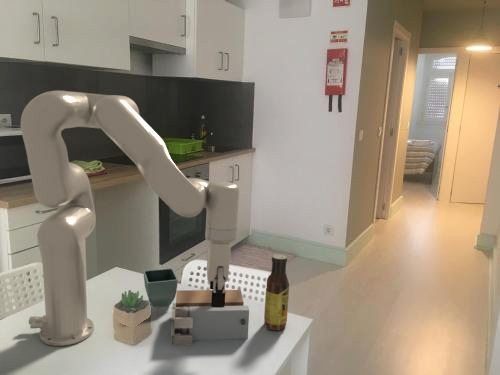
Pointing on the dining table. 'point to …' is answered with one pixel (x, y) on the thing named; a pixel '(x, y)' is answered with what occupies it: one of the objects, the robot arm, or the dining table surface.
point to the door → (217, 322)
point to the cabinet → (206, 298)
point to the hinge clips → (179, 323)
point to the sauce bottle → (277, 295)
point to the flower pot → (160, 286)
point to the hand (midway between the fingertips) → (216, 297)
